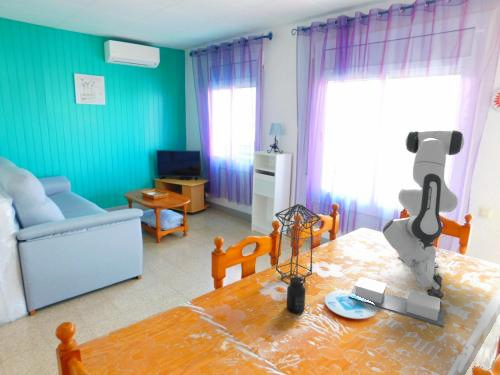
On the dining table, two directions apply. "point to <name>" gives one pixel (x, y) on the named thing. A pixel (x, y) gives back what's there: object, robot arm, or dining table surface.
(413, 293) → the grey mounting plate
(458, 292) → the dining table surface
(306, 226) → the geometric lantern
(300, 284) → the supplement bottle
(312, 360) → the dining table surface
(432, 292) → the dark grey upright figurine
